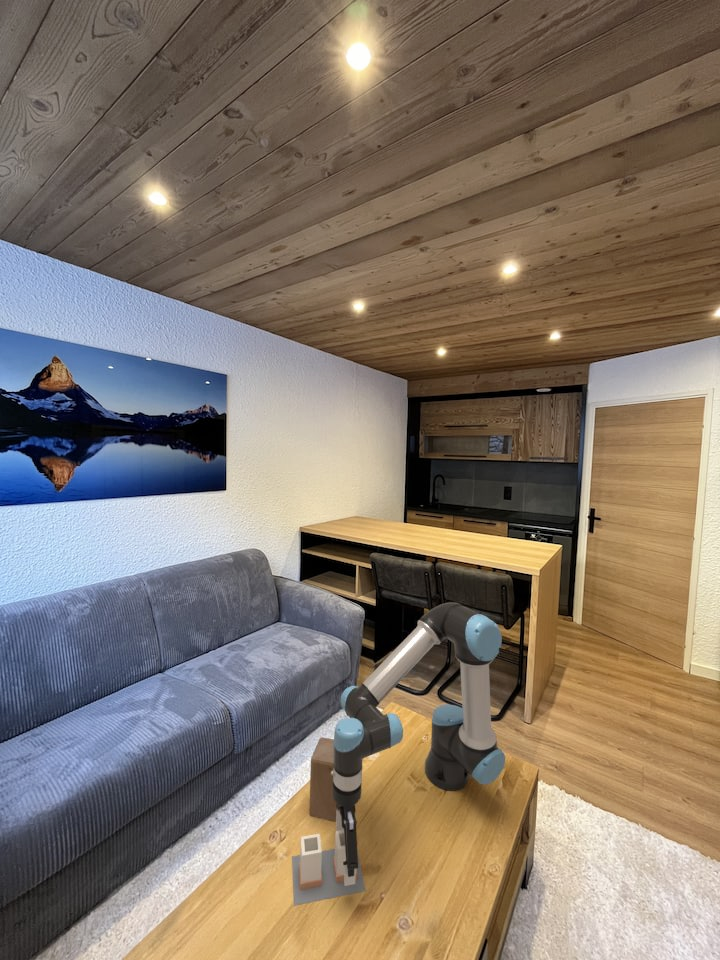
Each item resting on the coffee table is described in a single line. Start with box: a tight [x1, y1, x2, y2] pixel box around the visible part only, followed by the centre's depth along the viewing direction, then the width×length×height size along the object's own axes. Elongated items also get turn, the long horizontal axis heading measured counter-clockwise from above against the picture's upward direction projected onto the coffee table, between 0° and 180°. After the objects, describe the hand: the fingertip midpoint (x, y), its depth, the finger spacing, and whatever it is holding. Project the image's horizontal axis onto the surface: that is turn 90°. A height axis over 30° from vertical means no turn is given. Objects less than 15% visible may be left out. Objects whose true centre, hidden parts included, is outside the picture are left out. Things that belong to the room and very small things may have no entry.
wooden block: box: [309, 737, 338, 823], centre depth 125 cm, size 10×10×20 cm
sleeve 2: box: [333, 830, 357, 883], centre depth 106 cm, size 6×6×9 cm
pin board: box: [291, 848, 366, 906], centre depth 105 cm, size 18×12×8 cm, turn 102°
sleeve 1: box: [299, 833, 323, 890], centre depth 104 cm, size 6×6×9 cm
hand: (344, 856), depth 106 cm, fingers open, 13 cm apart
